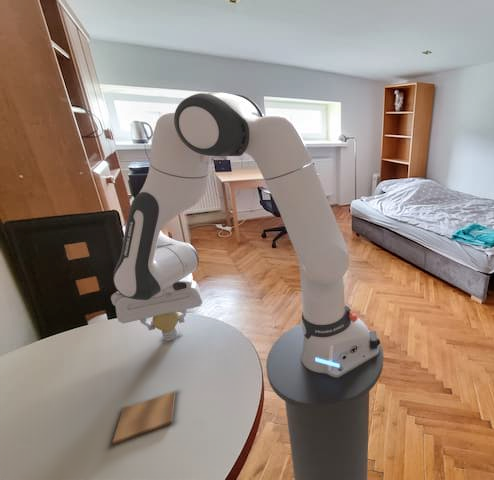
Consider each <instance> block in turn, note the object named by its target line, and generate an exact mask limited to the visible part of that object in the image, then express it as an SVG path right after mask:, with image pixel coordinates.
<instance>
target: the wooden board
mask: <svg viewBox="0 0 494 480" xmlns="http://www.w3.org/2000/svg"><path fill="white" fill-rule="evenodd" d="M175 400H176V392H175V391H173V392H171V393H167V394H165V395H161V396H158V397H156V398H152V399H149V400H146V401H142V402H139V403H136V404H133V405H130V406H127V407H124V408H122V410H121V413H120V416H119V419H118V422H117V426H116V429H115V432H114V436H113V439H112V444H117V443H120V442H122V441H125V440H127V439H130V438H131V439H132V438H133V437H137V436H139V435H141V434H145V433H147V432H151V431H153V430H155V429H159V428H161V427H164V426H167V425H169V424H172V423H173V417H174V408H175Z"/></svg>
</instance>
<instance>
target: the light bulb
mask: <svg viewBox="0 0 494 480" xmlns="http://www.w3.org/2000/svg"><path fill="white" fill-rule="evenodd" d="M179 315H180V314H179V311H177V312H173V313H168V314H163V315H159V316H155V317H152V320H151V322H153V325H154V326H155V327H156V328H155V329H157V330H159V331H161V335H162V337H163V340H164V341H168V342H170V341H173V340H175V339H176V338H177V337H179V331H178V328H177V325H178V323H179V320H178V318H179Z"/></svg>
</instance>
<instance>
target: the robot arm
mask: <svg viewBox="0 0 494 480" xmlns="http://www.w3.org/2000/svg"><path fill="white" fill-rule="evenodd" d="M244 154H246V155H248V156H250V157H251V158H252V159H253V161H254V162H255V164H256V165H257V168H258V169H259V172H260V174H261V175H262V176H261V177H262V178H263V180H264V183H265V185H266V187H267V189H268V190H269V193H270V195H271V197H272V200H273V201H274V203H275V205H276V208H277V209H278V212H279V214H280V217H281V219H282V222H283V224H284V227H285V230H286V232H287V236H288V237H289V239H290V243H291V245H292V247H293V249H294V252H295V254H296V256H297V259H298V266H299V267H298V268H299V278H300V288H301V289H300V290H301V301H302V302H301V303H302V312H301V323H302V330H303V334H304V341H303V348H302V351H301V361H302V363H303V364H304V366H305V367H306V368H308V369H309V370H311V371H314V372H318V373H325V374H328V375H330V376H332V377H335V378H338V377H340V376H342V375H344V374H345V373H347V372H349V371H350V370H352V369H354V368H356V367H357V366H359V365H361V364H362V363H364V362H366V361H368V360H369V359H371V358H373V357H374V356H376V355H378V354H379V344H381V340H380V339H379V338H378V336H377V331H376V330H370V329H369V328H368V327H367V325H366V324H365V322H364V321H363V320H362V319H361V318H359V317H358V315H357V314H356V312H354V311H352V309H351V308H350V306H348V305H347V304H345V282H344V276H345V275H346V273H347V271H348V270H349V266H350V265H349V264H350V258H349V257H350V256H349V255H350V254H349V249H348V245H347V242H346V240H345V238H344V236H343V234H342V231H341V228H340V226H339V223H338V221H337V218H336V217H335V214H334V212H333V209H332V207H331V204H330V202H329V199H328V197H327V194H326V193H325V190H324V187H323V184H322V182H321V179H320V177H319V175H318V171H317V169H316V166H315V164H314V161H313V158H312V156H311V153H310V151H309V150H308V147H307V145H306V143H305V141H304V139H303V137H302V135H301V134H300V132H299V130H298V128H297V127H296V126H295V124H294V123H293V121H292V120H291V119H290V118H289V117H287V116H285V115H282V114H267V115H264V113H263V111H262V109H261V107H259V105H258V104H257V103H256V102H255V101H253V99H250V98H249V97H246V96H244V95H241V94H232V93H227V92H221V91H219V92H216V91H215V92H208V93H204V92H202V93H201V92H200V93H195V94H192V95H189V96H188V97H186V98H184V99H183V100H182V101H180V103H179V104H178V105H177V107H176V109H175V111H174V112H169V113H168V112H167V113H164V114H163V115H161V116H160V117H159V118H157V121H156V123H155V126H154V130H153V133H152V139H151V144H150V152H149V167H148V172H147V176H146V178H145V182H144V183H143V185H142V188H141V189H140V190H139V193H137V195H136V196H135V197H134V198H133V200H132V202H131V204H130V206H129V211H128V215H127V220H126V226H125V232H124V236H123V239H122V246H121V252H120V256H119V259H118V262H117V263H116V265H115V268H114V270H113V275H112V281H113V285H114V287H115V289H116V290H117V291H115V292H114V293H113V294H111V296H110V301H111V304H112V305H113V306H114V307H115V313H116V319H117V322H119V323H121V324H127V323H132V322H137V321H140V323H141V324H142V325H144V326H145V327H147V329H148V331H154V330H156V329H157V328H156V327H155V326H154V325H153V322H152V320H150V318H153V317H155V316H159V315H163V314H168V313H173V312H180V313H181V314H179V318H178V323H179V324H182V323H186V315H187V312H188V310H189V309H194V308H195V309H196V308H199V307H201V306H202V304H203V303H204V302H203V301H204V299H203V293H202V291H201V289H200V286H199V284H198V283H197V281H195V280H194V276H193V273H194V272H196V271H197V270H198V268H199V264H200V258H199V255H198V252H197V250H196V249H195V247H194V246H193V245H192V244H191V243H188V242H187V241H183V240H176V239H173V238H171V237H169V236H168V235H165V234H164V233H163V232H162V230H163V229H164V228H165V226H167V225H168V223H170V222H171V221H173V220H174V219H175V218H176V217H178V216H179V215H181V214H182V213H184V212H185V211H187V210H190V209H191V208H192V207H194V206H195V205H197V204H198V203H199V202H200V201H202V199H203V198H204V196H205V194H206V192H207V188H208V186H209V180H210V169H211V161H212V157H240V156H242V155H244ZM368 329H369V330H370V331H369V330H368ZM377 338H378V339H377ZM340 370H341V371H340Z"/></svg>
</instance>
